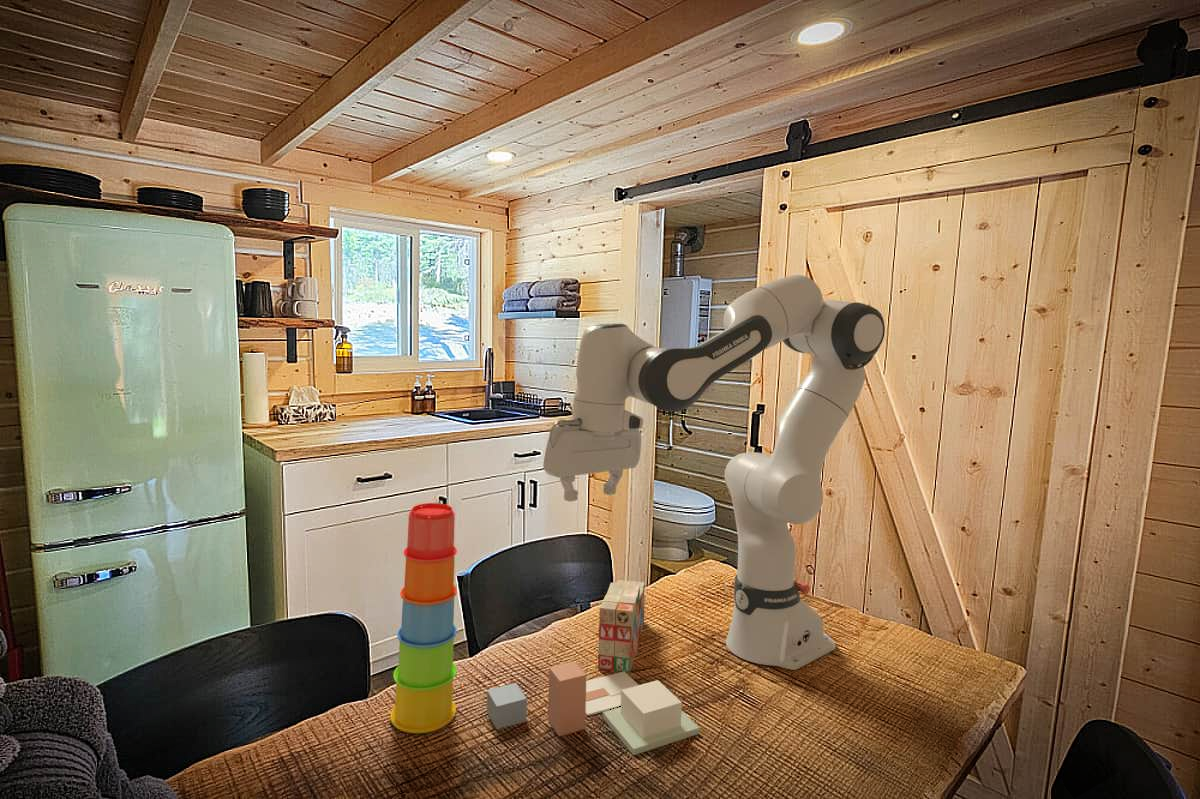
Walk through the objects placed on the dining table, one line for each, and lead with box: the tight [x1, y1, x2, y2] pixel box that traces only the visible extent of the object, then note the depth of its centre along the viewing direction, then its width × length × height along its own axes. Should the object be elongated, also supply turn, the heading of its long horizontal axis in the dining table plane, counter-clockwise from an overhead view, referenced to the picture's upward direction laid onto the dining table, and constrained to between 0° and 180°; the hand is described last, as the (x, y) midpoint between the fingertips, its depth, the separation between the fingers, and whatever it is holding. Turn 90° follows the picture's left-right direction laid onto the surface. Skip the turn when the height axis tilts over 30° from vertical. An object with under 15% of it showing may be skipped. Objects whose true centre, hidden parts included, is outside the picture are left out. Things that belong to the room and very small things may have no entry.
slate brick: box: [486, 682, 528, 730], centre depth 100 cm, size 5×5×4 cm
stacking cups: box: [389, 502, 458, 734], centre depth 98 cm, size 10×10×35 cm
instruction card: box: [585, 671, 639, 717], centre depth 107 cm, size 12×9×1 cm
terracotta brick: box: [547, 660, 587, 737], centre depth 98 cm, size 4×4×9 cm
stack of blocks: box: [597, 579, 646, 673], centre depth 124 cm, size 21×6×12 cm, turn 169°
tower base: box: [602, 679, 701, 756], centre depth 98 cm, size 12×10×5 cm
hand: (590, 497), depth 106 cm, fingers open, 8 cm apart
